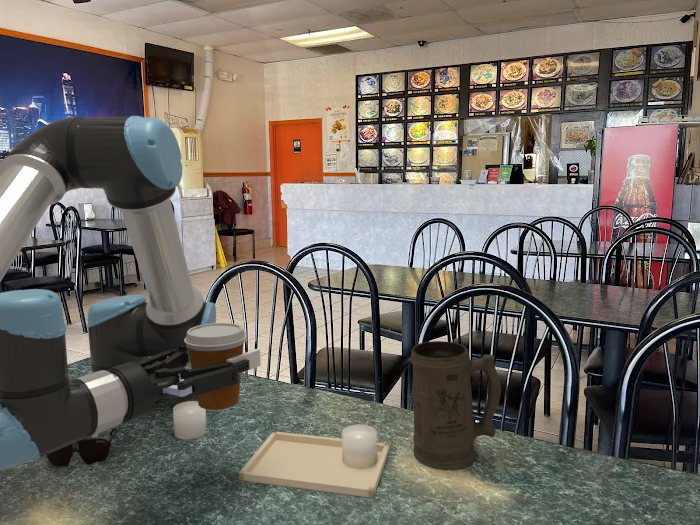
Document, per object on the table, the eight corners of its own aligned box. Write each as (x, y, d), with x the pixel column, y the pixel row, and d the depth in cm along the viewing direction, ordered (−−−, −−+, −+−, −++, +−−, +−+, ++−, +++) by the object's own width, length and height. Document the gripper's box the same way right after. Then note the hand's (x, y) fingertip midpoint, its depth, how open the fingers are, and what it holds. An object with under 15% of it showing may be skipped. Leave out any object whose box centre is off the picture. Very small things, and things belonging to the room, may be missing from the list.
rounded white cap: (176, 425, 108) (176, 401, 108) (207, 423, 109) (207, 400, 108) (171, 440, 103) (170, 415, 102) (204, 439, 103) (203, 414, 102)
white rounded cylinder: (346, 449, 98) (346, 422, 97) (379, 453, 96) (380, 426, 96) (338, 466, 92) (338, 438, 91) (373, 470, 91) (373, 442, 90)
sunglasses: (42, 472, 92) (41, 442, 92) (65, 447, 104) (64, 421, 104) (108, 465, 94) (107, 436, 94) (124, 442, 106) (123, 416, 106)
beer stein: (419, 476, 90) (420, 359, 87) (402, 445, 100) (403, 340, 97) (507, 468, 92) (512, 354, 89) (482, 439, 103) (485, 336, 100)
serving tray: (273, 440, 102) (273, 431, 102) (389, 453, 97) (389, 444, 97) (239, 483, 88) (238, 472, 88) (373, 501, 83) (373, 490, 83)
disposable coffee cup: (233, 417, 82) (230, 339, 80) (176, 411, 84) (171, 336, 83) (257, 393, 91) (255, 323, 90) (205, 389, 93) (202, 320, 92)
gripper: (72, 405, 79) (198, 362, 97) (164, 445, 67) (287, 387, 85) (68, 355, 78) (196, 321, 96) (161, 386, 66) (286, 340, 84)
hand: (239, 352), depth 91 cm, fingers closed on disposable coffee cup, 8 cm apart
